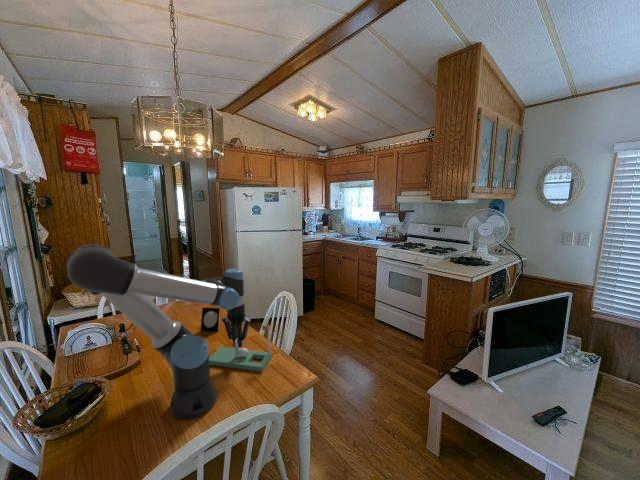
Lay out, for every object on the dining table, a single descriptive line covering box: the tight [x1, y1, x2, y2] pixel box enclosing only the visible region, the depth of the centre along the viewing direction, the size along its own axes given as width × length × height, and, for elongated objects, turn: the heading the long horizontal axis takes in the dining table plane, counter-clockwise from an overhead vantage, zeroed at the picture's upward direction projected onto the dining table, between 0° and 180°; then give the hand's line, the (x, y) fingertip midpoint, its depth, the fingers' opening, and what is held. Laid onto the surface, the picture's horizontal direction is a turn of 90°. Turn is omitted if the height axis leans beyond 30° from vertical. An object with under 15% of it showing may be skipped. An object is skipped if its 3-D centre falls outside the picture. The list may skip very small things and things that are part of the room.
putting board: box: [209, 325, 273, 373], centre depth 122 cm, size 11×26×16 cm, turn 79°
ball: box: [239, 347, 249, 357], centre depth 123 cm, size 4×4×4 cm
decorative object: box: [200, 307, 221, 333], centre depth 153 cm, size 13×10×10 cm
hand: (238, 353), depth 123 cm, fingers closed
